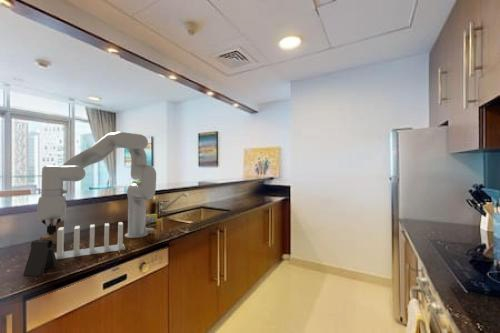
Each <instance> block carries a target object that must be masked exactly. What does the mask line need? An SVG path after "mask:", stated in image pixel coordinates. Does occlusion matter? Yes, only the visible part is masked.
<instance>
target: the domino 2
mask: <svg viewBox="0 0 500 333" xmlns="http://www.w3.org/2000/svg"><path fill="white" fill-rule="evenodd" d="M80 229H81V226H80V225H75V226H74V229H73V250H74V253H73V255H78V254H79V250H80V237H81V236H80V235H81V230H80Z"/></svg>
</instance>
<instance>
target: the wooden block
mask: <svg viewBox="0 0 500 333" xmlns="http://www.w3.org/2000/svg"><path fill="white" fill-rule="evenodd" d="M58 219H59V218H58ZM53 222H54V219H50V223H51V225H52V224H53ZM59 227H64V228H65V220H64V221H60V222H59V223H58V224H57V225H56V232H54V234H53V235H49V233H47V232H46V234H44V235H42V236H40V237H39V240H52V241H53V245H57V230H58V229H59Z"/></svg>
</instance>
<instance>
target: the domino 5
mask: <svg viewBox="0 0 500 333" xmlns="http://www.w3.org/2000/svg"><path fill="white" fill-rule="evenodd" d="M123 244H124V223H123V222H122V221H119V222H118V223H117V245H118V249H122V248H123Z"/></svg>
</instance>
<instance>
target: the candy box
mask: <svg viewBox="0 0 500 333" xmlns="http://www.w3.org/2000/svg"><path fill="white" fill-rule="evenodd" d="M155 226H158V213H151V214H146V220H145V227H146V228H151V227H155Z"/></svg>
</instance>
